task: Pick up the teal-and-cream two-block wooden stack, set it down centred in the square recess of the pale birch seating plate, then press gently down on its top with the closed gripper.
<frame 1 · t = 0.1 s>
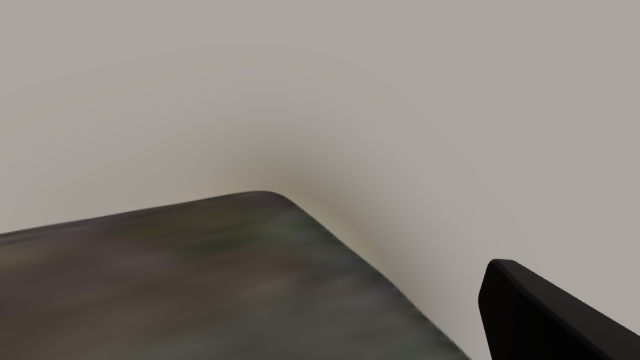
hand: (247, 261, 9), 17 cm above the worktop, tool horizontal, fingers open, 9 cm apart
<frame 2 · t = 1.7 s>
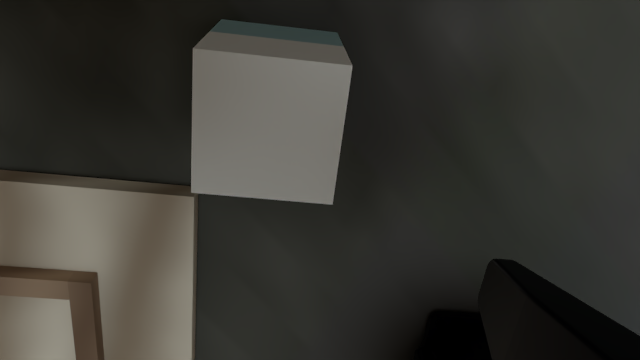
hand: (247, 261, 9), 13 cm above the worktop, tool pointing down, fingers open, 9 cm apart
block stack: (275, 82, 21), on the worktop
seating plate: (13, 331, 25), on the worktop
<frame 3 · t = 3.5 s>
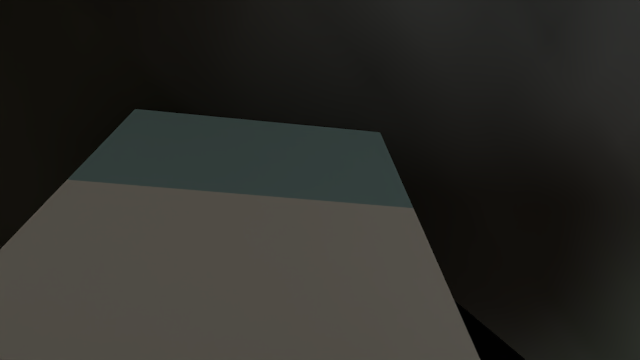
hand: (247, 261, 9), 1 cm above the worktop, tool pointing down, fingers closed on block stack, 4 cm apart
block stack: (252, 226, 10), on the worktop, touching gripper
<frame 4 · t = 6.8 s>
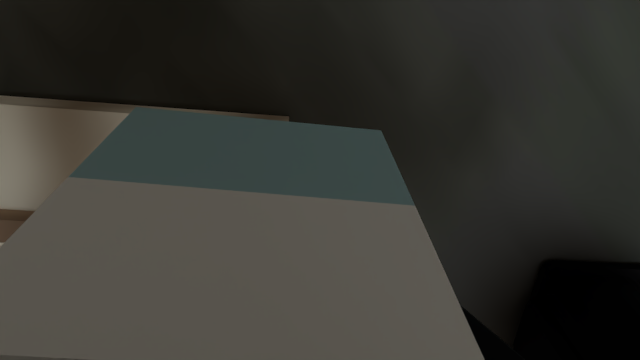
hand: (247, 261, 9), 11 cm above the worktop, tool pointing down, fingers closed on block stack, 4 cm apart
block stack: (253, 224, 10), point 10 cm above the worktop, touching gripper
seating plate: (74, 294, 23), on the worktop
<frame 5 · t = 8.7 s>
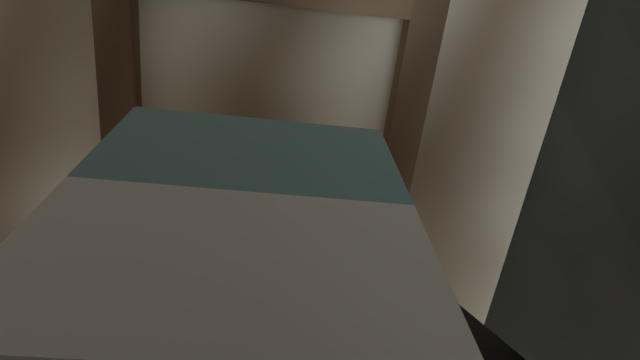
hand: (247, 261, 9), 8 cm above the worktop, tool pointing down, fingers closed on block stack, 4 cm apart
block stack: (253, 224, 10), point 7 cm above the worktop, touching gripper
seating plate: (266, 116, 17), on the worktop
when the fingers open (3 cm above the worktop, at t = 10.1 s): block stack stays where it is, resting on seating plate.
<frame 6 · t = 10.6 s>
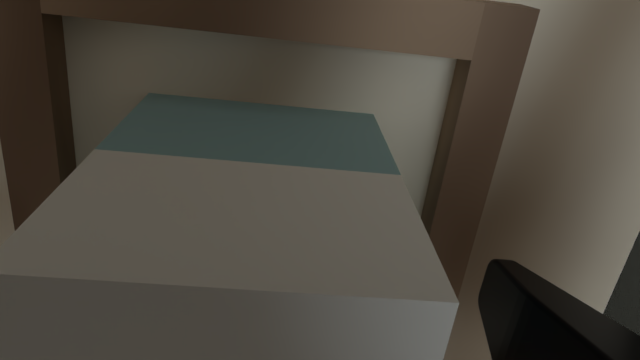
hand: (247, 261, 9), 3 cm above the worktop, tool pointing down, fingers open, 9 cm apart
block stack: (256, 202, 11), point 1 cm above the worktop, touching seating plate
seating plate: (257, 185, 12), on the worktop
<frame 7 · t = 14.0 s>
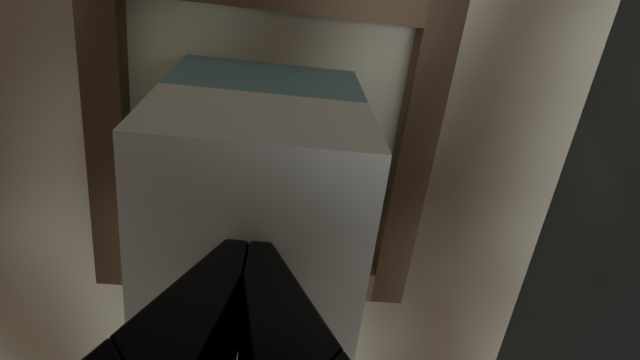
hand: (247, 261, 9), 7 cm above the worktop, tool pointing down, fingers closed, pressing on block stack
block stack: (266, 141, 15), point 1 cm above the worktop, touching gripper, seating plate
seating plate: (266, 131, 15), on the worktop
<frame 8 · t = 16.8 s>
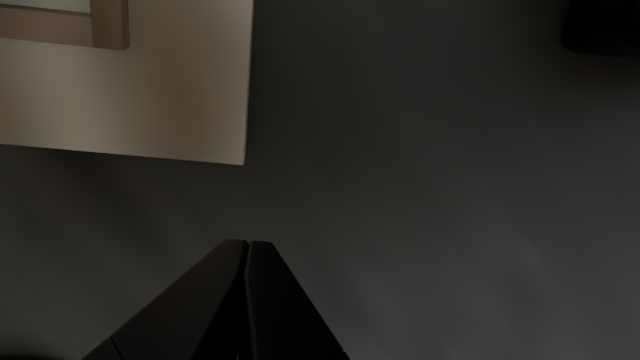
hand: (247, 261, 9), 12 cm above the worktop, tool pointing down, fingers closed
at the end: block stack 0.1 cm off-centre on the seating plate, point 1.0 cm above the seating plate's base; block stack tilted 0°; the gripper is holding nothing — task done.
